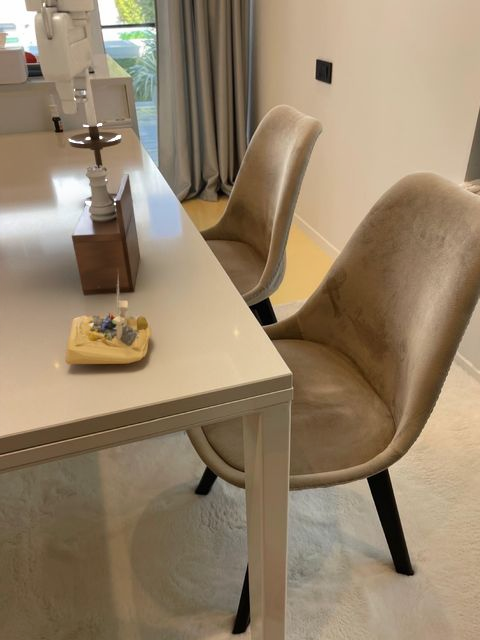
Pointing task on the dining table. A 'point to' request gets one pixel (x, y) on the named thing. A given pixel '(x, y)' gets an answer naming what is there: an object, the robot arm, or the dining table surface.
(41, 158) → the dining table surface
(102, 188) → the rook chess piece
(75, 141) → the candlestick
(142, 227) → the dining table surface
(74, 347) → the cake
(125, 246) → the wooden box with backrest
